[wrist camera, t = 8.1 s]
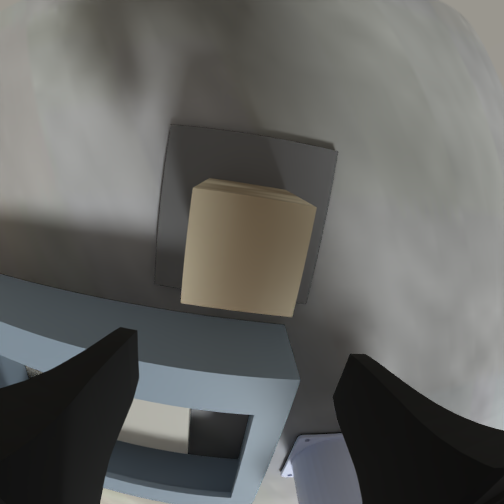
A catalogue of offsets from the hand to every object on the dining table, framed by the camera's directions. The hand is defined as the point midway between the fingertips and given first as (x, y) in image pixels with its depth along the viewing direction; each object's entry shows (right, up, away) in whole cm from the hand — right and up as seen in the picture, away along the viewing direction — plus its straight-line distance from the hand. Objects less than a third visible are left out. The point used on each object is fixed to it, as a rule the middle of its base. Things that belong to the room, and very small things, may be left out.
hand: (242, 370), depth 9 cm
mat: (0, +6, +9) cm, 11 cm away
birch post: (0, +6, +8) cm, 10 cm away
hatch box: (-11, -8, +13) cm, 18 cm away
